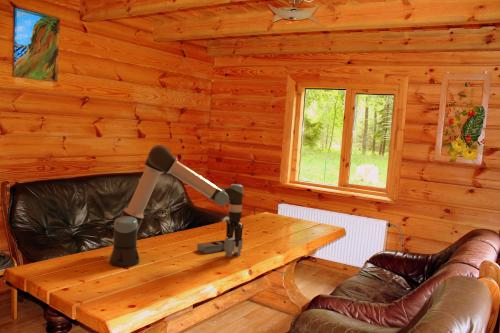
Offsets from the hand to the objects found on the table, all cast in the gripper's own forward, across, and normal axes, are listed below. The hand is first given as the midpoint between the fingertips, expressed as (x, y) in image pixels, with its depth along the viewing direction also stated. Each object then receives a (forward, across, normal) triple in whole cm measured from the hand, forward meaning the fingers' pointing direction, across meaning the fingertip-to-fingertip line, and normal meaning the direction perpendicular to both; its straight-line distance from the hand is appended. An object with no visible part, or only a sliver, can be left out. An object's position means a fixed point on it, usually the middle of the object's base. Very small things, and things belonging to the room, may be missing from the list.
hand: (233, 250), depth 251 cm
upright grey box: (+3, 0, 0) cm, 3 cm away
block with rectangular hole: (+3, +14, 0) cm, 14 cm away
